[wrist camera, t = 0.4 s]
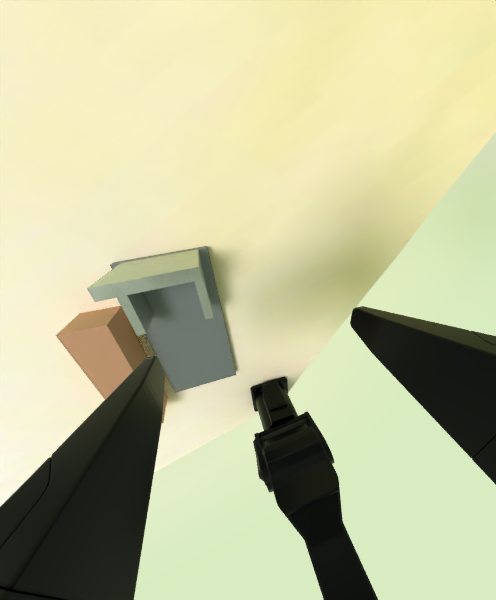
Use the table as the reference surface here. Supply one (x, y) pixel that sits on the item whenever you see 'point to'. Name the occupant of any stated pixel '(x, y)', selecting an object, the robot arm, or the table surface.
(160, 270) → the bracket
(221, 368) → the board
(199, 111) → the table surface
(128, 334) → the rail
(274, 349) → the table surface
